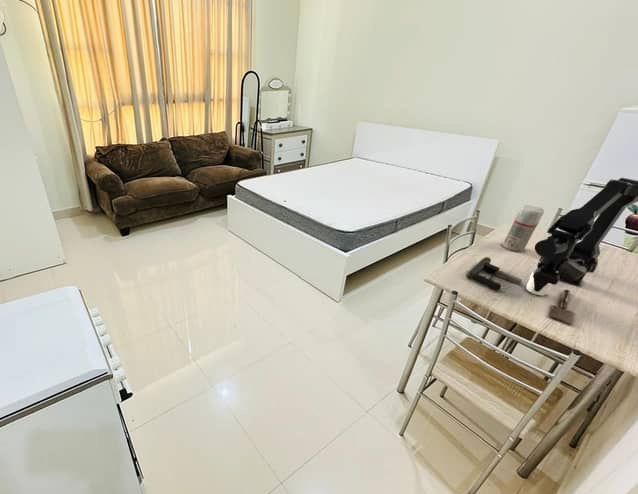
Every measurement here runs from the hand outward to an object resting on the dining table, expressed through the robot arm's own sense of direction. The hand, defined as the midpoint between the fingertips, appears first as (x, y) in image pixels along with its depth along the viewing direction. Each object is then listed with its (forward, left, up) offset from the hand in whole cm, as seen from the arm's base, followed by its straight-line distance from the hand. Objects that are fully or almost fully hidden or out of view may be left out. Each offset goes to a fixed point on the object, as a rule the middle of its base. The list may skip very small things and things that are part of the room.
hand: (537, 287), depth 116 cm
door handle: (+13, 0, -2) cm, 13 cm away
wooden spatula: (-8, +3, -2) cm, 9 cm away
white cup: (0, 0, -2) cm, 2 cm away
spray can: (+12, -36, -2) cm, 38 cm away
